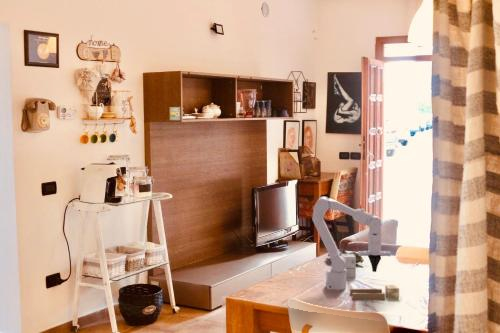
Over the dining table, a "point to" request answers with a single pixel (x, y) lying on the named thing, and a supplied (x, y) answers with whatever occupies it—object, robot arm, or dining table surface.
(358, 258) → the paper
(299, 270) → the dining table surface
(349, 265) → the light bulb box
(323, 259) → the dining table surface
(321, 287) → the dining table surface
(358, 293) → the chute
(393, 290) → the birch block
